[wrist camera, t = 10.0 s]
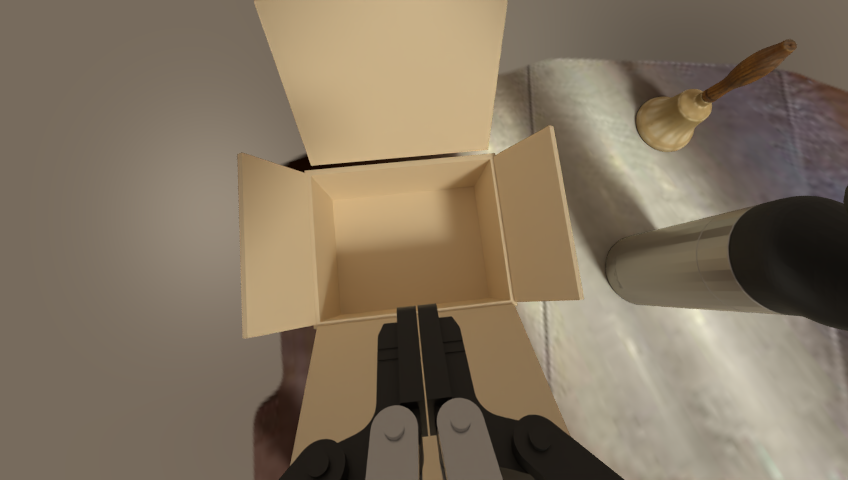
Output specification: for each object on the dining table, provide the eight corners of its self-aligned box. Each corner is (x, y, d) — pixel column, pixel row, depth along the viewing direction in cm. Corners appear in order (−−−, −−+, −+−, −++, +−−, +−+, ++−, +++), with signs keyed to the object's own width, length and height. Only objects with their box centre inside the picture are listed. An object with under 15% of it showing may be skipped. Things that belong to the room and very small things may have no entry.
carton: (503, 180, 45) (575, 94, 25) (533, 380, 41) (646, 464, 21) (300, 200, 44) (206, 125, 24) (312, 408, 40) (212, 525, 20)
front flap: (487, 149, 35) (486, 146, 35) (509, -16, 24) (507, -18, 25) (311, 165, 34) (311, 162, 34) (253, 0, 23) (255, -2, 24)
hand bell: (703, 131, 47) (849, 52, 32) (662, 163, 46) (790, 98, 31) (665, 87, 48) (789, -11, 32) (623, 118, 47) (729, 32, 31)
